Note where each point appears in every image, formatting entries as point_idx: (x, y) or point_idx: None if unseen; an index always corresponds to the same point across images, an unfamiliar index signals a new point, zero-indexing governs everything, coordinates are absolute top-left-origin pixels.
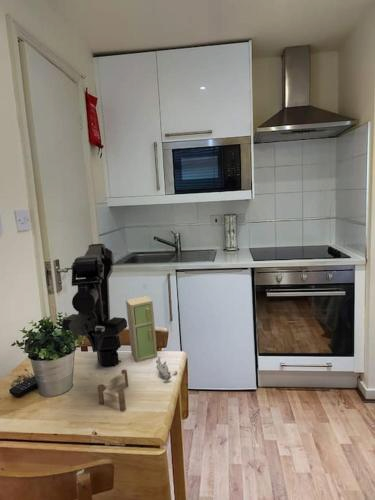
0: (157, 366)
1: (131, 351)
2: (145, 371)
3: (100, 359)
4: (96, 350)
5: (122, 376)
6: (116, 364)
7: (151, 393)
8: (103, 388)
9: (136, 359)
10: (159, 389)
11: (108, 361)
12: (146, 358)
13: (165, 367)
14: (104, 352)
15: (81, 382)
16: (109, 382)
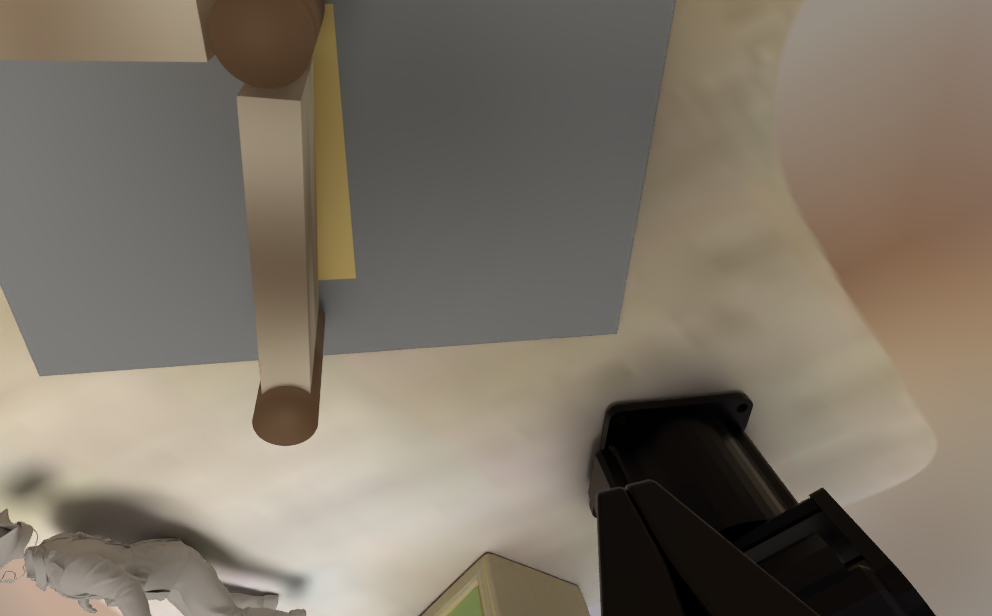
0: (134, 599)
1: (583, 608)
2: (337, 514)
3: (727, 458)
4: (620, 511)
5: (262, 356)
6: (593, 476)
7: (22, 349)
8: (215, 33)
9: (488, 571)
10: (15, 415)
11: (652, 470)
12: (440, 603)
13: (183, 605)
14: (715, 528)
15: (742, 203)
16: (270, 189)
